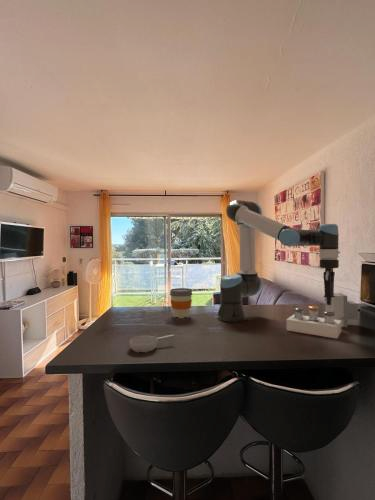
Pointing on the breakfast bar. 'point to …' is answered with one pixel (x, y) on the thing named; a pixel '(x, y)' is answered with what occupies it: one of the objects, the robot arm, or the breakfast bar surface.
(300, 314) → the plunger left
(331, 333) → the panel
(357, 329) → the breakfast bar surface
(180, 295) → the reusable coffee cup
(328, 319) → the plunger right
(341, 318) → the circuit breaker
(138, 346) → the small pan
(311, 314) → the plunger mid
